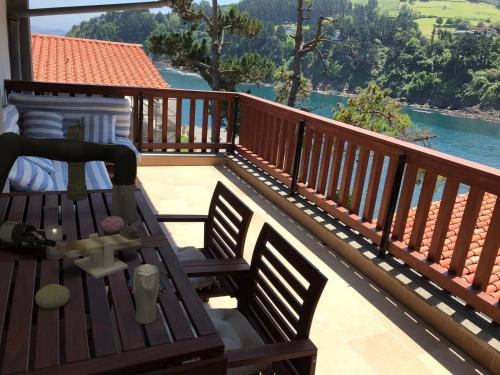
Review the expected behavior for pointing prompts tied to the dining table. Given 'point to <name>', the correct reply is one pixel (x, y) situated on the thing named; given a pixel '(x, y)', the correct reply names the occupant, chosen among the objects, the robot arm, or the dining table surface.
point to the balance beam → (100, 243)
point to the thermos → (76, 169)
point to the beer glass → (146, 292)
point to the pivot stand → (101, 261)
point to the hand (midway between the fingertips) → (60, 240)
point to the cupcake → (112, 225)
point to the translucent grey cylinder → (55, 234)
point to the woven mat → (130, 286)
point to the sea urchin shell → (52, 296)
